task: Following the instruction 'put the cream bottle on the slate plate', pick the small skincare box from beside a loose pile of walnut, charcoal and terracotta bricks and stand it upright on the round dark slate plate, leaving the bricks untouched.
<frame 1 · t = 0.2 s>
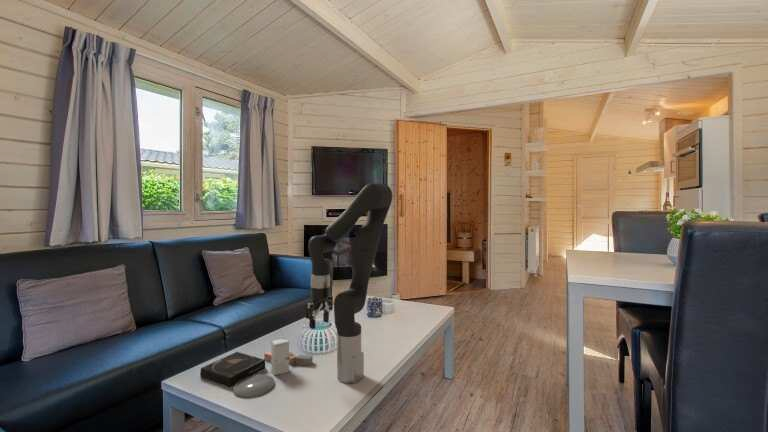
hand: (319, 325, 140), 18 cm above the table, tool pointing down, fingers open, 8 cm apart
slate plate: (254, 386, 127), on the table
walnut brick: (290, 362, 147), on the table
charcoal brick: (304, 363, 145), on the table
portable cd player: (233, 374, 138), on the table
skincare box: (280, 371, 138), on the table
terracotta brick: (272, 360, 148), on the table
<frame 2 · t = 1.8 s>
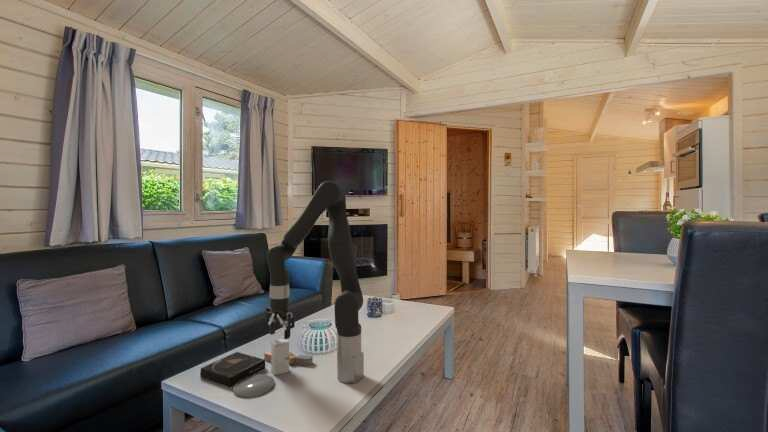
hand: (279, 336, 138), 14 cm above the table, tool pointing down, fingers open, 8 cm apart
nothing on the table moved.
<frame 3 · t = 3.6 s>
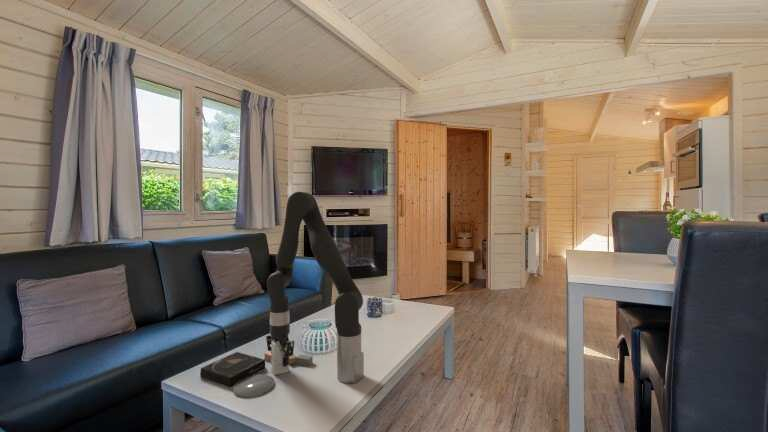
hand: (280, 363, 138), 3 cm above the table, tool pointing down, fingers closed on skincare box, 5 cm apart
skincare box: (280, 371, 138), on the table, touching gripper
everything else where it was.
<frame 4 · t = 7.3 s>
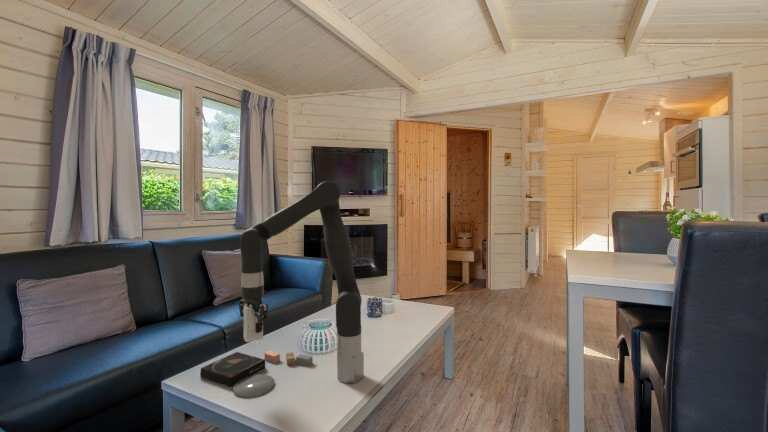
hand: (253, 330, 126), 21 cm above the table, tool pointing down, fingers closed on skincare box, 5 cm apart
skincare box: (253, 339, 126), point 17 cm above the table, touching gripper
everything else where it was.
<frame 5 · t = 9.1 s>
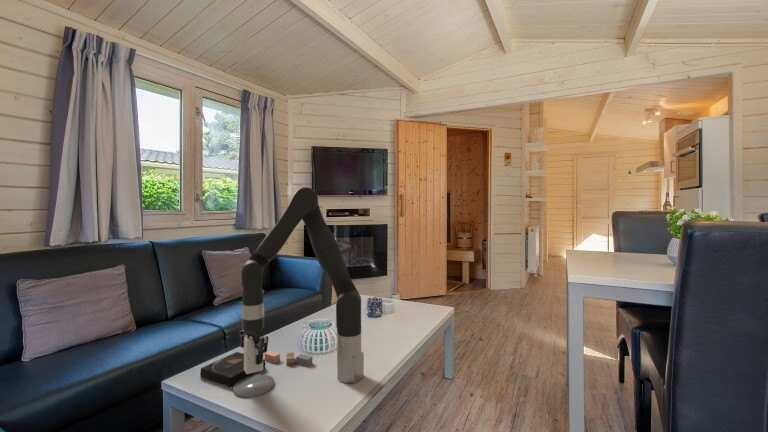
hand: (253, 361, 127), 9 cm above the table, tool pointing down, fingers closed on skincare box, 5 cm apart
skincare box: (253, 370, 127), point 6 cm above the table, touching gripper
everything else where it was.
when the fingers open (5 cm above the table, at t = 10.8 s): skincare box drops 1 cm, resting on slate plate.
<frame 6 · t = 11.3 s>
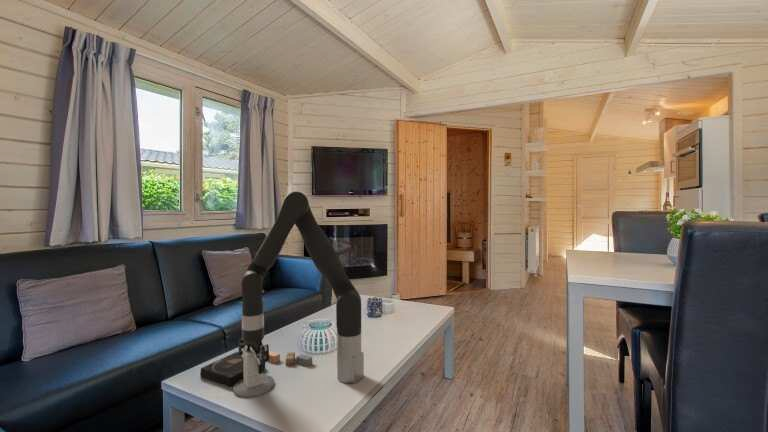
hand: (253, 370, 127), 6 cm above the table, tool pointing down, fingers open, 8 cm apart
skincare box: (253, 384, 127), point 1 cm above the table, touching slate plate
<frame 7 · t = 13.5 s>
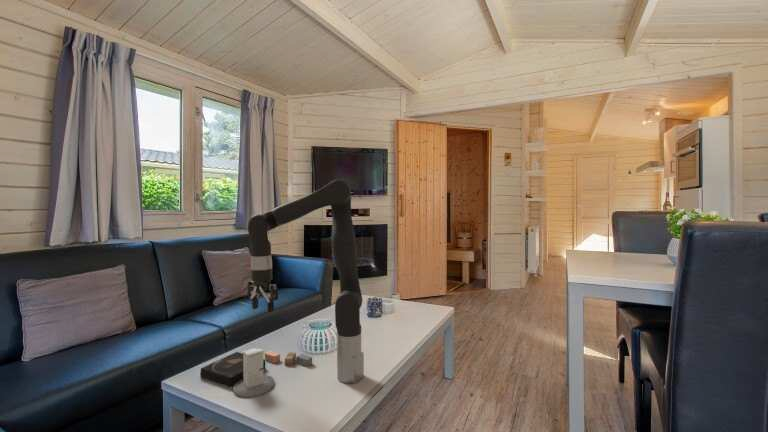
hand: (262, 310, 132), 26 cm above the table, tool pointing down, fingers open, 8 cm apart
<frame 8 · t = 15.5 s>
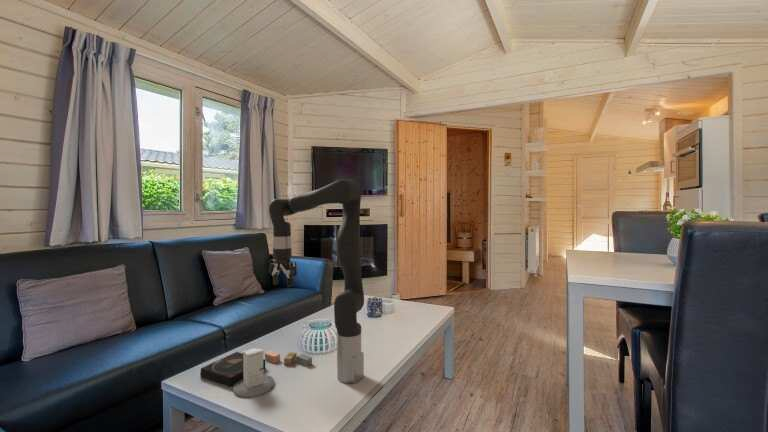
hand: (282, 285, 146), 32 cm above the table, tool pointing down, fingers open, 8 cm apart
at the end: skincare box inside the target area on the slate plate (0.2 cm from its centre), point 0.8 cm above the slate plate's base; skincare box tilted 0°; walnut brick moved 0.2 cm from its start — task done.
